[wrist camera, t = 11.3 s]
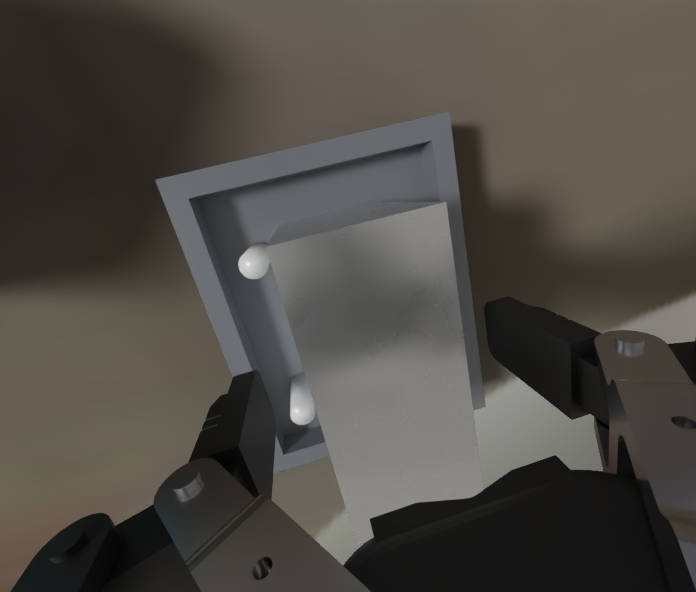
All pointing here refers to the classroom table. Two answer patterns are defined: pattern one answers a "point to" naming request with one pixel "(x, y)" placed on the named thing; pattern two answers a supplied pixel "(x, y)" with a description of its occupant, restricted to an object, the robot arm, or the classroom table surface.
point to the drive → (382, 352)
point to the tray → (290, 204)
